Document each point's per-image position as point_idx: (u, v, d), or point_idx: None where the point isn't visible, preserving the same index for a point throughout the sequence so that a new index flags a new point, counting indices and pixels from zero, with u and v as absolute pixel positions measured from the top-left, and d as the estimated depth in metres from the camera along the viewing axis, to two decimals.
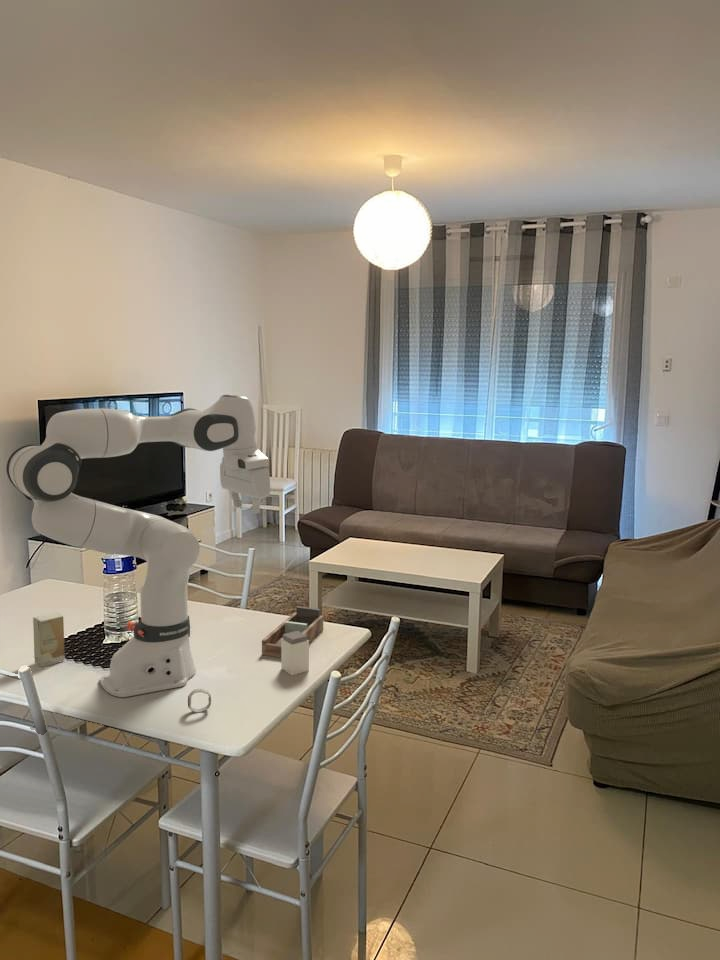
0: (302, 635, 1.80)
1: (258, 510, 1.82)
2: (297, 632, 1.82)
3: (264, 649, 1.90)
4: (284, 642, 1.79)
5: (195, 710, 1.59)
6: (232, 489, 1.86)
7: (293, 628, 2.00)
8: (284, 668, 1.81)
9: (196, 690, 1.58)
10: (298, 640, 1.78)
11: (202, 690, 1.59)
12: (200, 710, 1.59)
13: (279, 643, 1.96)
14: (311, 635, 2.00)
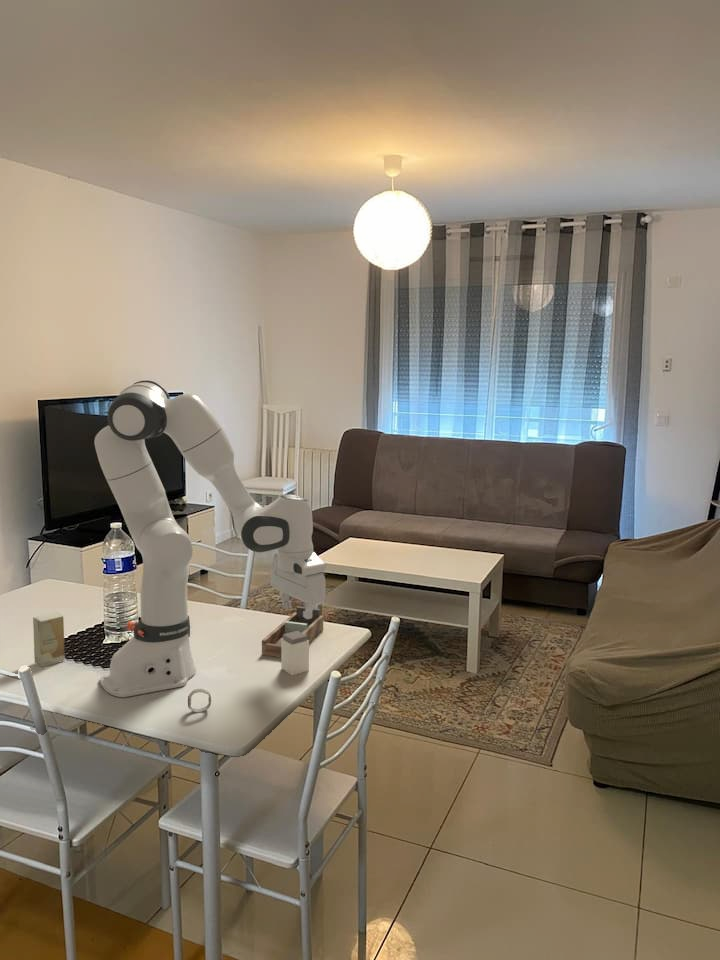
0: (302, 635, 1.80)
1: (310, 616, 1.75)
2: (297, 632, 1.82)
3: (264, 649, 1.90)
4: (284, 642, 1.79)
5: (195, 710, 1.59)
6: (283, 590, 1.80)
7: (293, 628, 2.00)
8: (284, 668, 1.81)
9: (196, 690, 1.58)
10: (298, 640, 1.78)
11: (202, 690, 1.59)
12: (200, 710, 1.59)
13: (279, 643, 1.96)
14: (311, 635, 2.00)
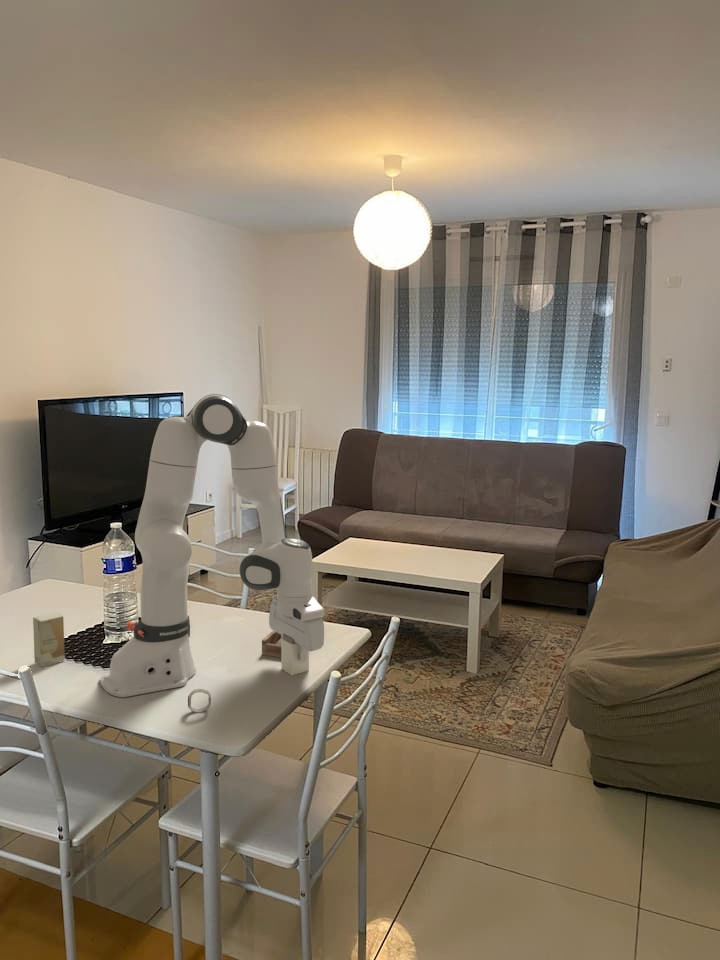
0: None
1: (305, 658, 1.78)
2: None
3: (264, 649, 1.90)
4: (284, 642, 1.79)
5: (195, 710, 1.59)
6: (282, 633, 1.81)
7: None
8: (284, 668, 1.81)
9: (196, 690, 1.58)
10: None
11: (202, 690, 1.59)
12: (200, 710, 1.59)
13: (279, 643, 1.96)
14: None
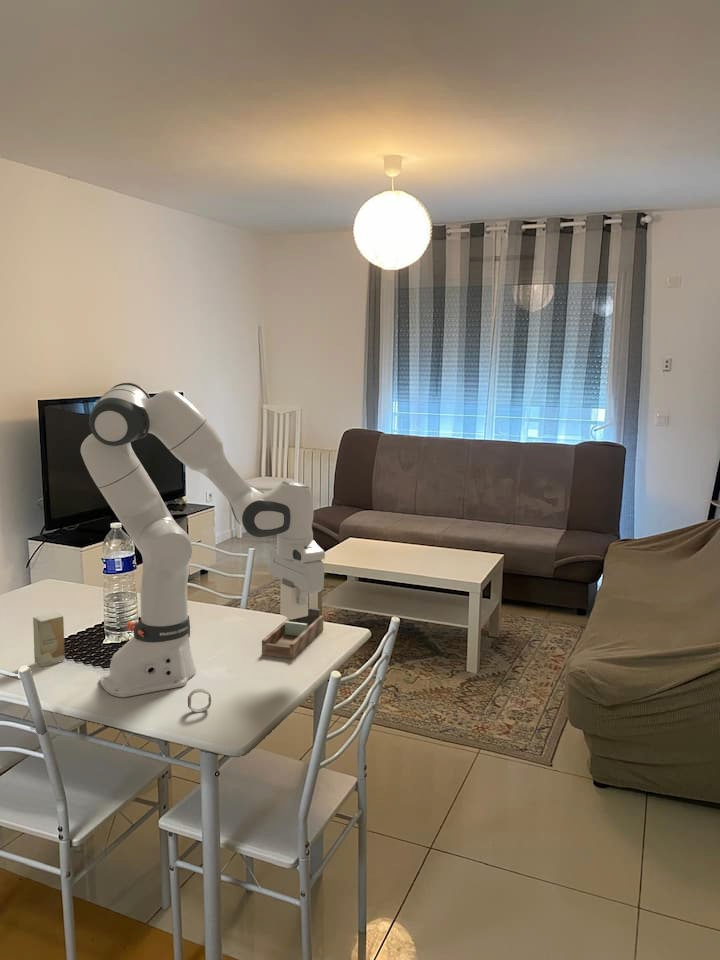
0: None
1: (304, 602, 1.76)
2: None
3: (264, 649, 1.90)
4: (283, 586, 1.77)
5: (195, 710, 1.59)
6: (281, 578, 1.79)
7: (293, 628, 2.00)
8: (282, 613, 1.78)
9: (196, 690, 1.58)
10: None
11: (202, 690, 1.59)
12: (200, 710, 1.59)
13: (279, 643, 1.96)
14: (311, 635, 2.00)
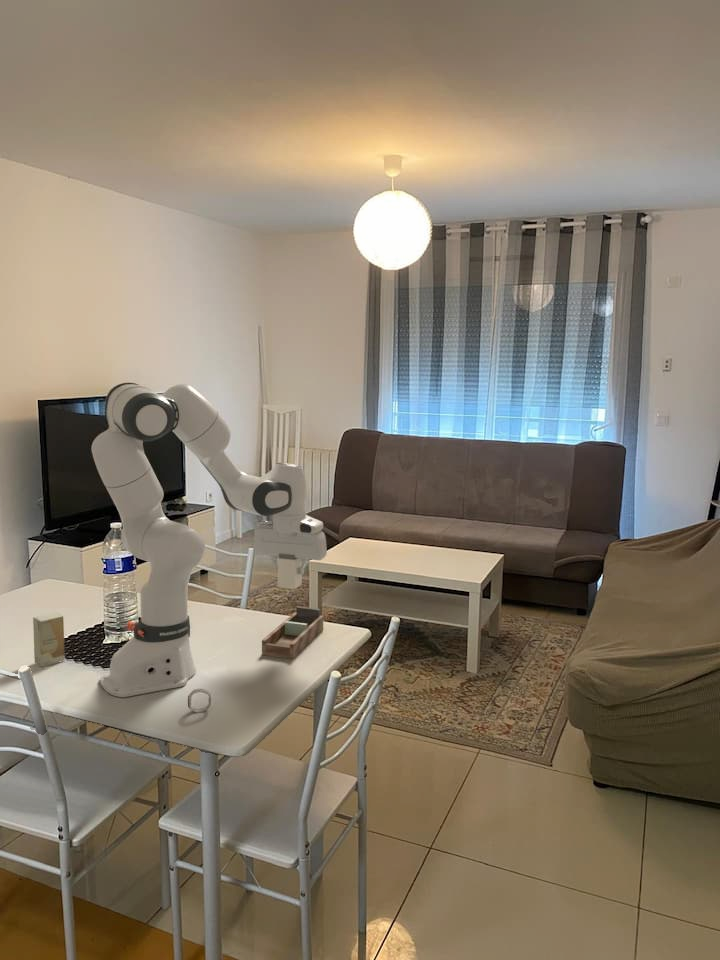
0: None
1: (303, 571, 1.93)
2: None
3: (264, 649, 1.90)
4: (282, 560, 1.91)
5: (195, 710, 1.59)
6: (275, 554, 1.92)
7: (293, 628, 2.00)
8: (282, 585, 1.92)
9: (196, 690, 1.58)
10: None
11: (202, 690, 1.59)
12: (200, 710, 1.59)
13: (279, 643, 1.96)
14: (311, 635, 2.00)
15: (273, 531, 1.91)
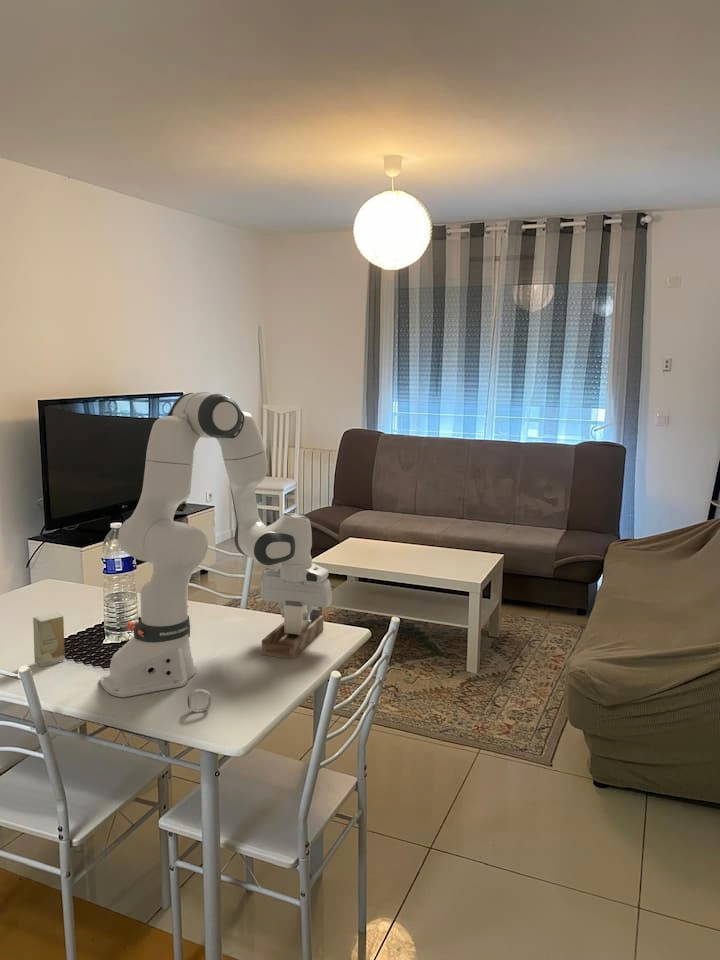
0: None
1: (309, 617, 2.00)
2: None
3: (264, 649, 1.90)
4: (289, 607, 1.98)
5: (195, 710, 1.59)
6: (282, 600, 1.99)
7: None
8: (288, 631, 1.99)
9: (196, 690, 1.58)
10: None
11: (202, 690, 1.59)
12: (200, 710, 1.59)
13: (279, 643, 1.96)
14: (311, 635, 2.00)
15: (280, 579, 1.98)
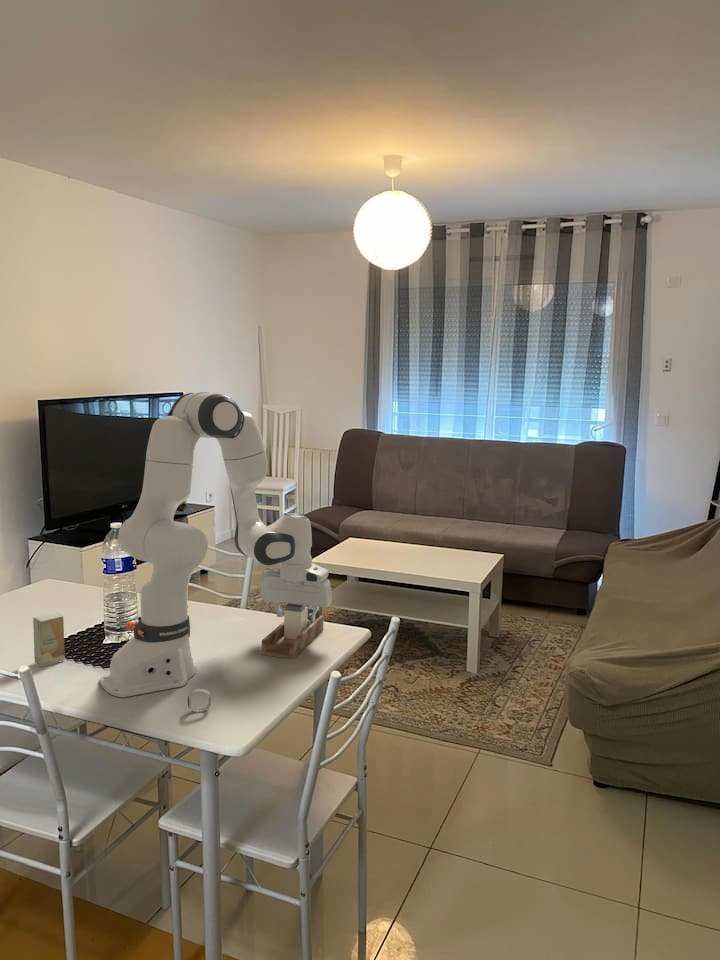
0: None
1: (314, 617, 1.99)
2: None
3: (264, 649, 1.90)
4: (289, 612, 1.98)
5: (195, 710, 1.59)
6: (282, 601, 1.99)
7: None
8: (288, 636, 1.99)
9: (196, 690, 1.58)
10: (302, 607, 1.99)
11: (202, 690, 1.59)
12: (200, 710, 1.59)
13: (279, 643, 1.96)
14: (311, 635, 2.00)
15: (280, 579, 1.98)
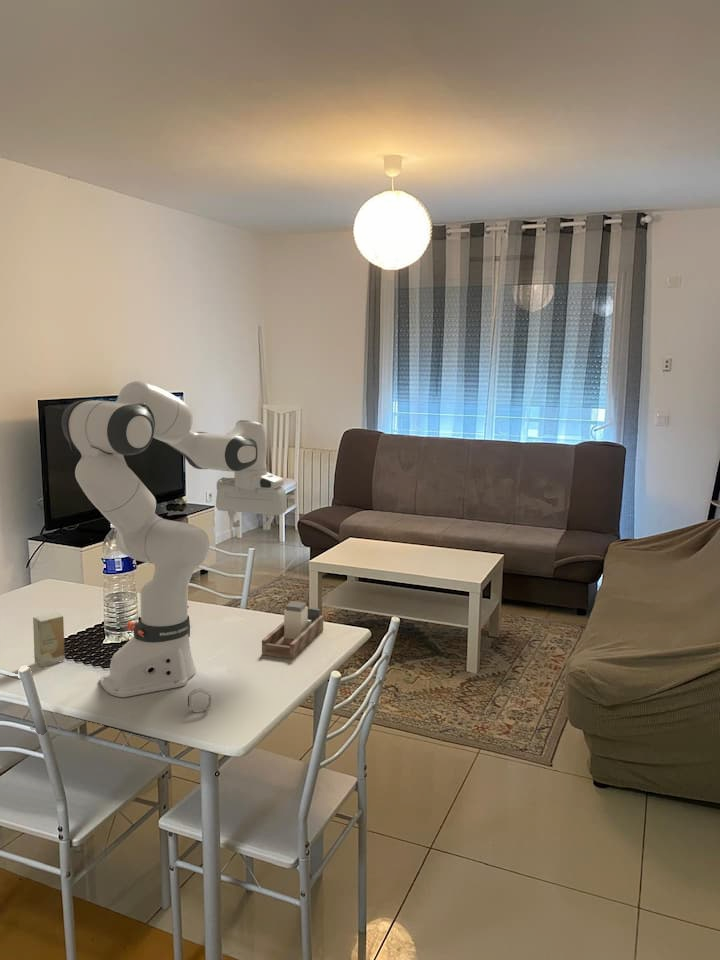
0: (302, 603, 2.01)
1: (269, 527, 1.98)
2: (294, 602, 2.01)
3: (264, 649, 1.90)
4: (289, 612, 1.98)
5: (195, 710, 1.59)
6: (237, 509, 1.98)
7: None
8: (288, 636, 1.99)
9: (196, 690, 1.58)
10: (302, 607, 1.99)
11: (202, 690, 1.59)
12: (200, 710, 1.59)
13: (279, 643, 1.96)
14: (311, 635, 2.00)
15: (235, 487, 1.97)
